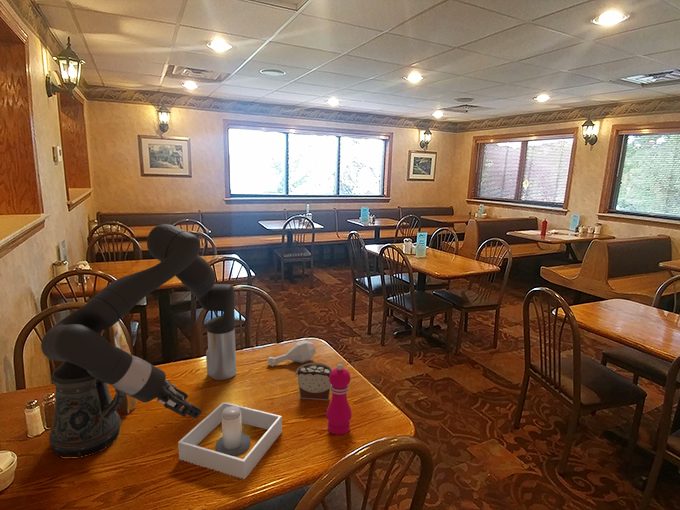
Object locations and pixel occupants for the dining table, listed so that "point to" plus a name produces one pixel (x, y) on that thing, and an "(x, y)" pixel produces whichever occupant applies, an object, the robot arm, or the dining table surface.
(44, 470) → the dining table surface
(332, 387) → the pepper mill
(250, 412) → the grey square frame
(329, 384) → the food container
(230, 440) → the sugar shaker
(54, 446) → the beer stein
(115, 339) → the pancake mix bag
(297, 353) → the chicken leg
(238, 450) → the coaster
